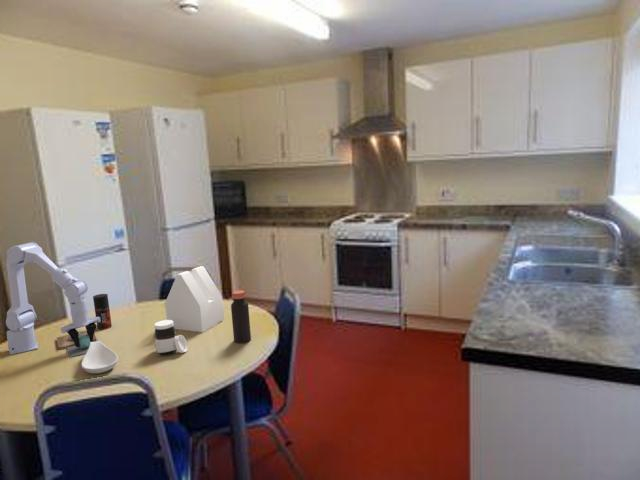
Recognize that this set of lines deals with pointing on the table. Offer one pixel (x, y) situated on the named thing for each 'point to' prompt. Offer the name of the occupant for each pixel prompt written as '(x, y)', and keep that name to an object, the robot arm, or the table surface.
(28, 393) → the table surface
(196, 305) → the white peaked block
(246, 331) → the bottle
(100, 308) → the deodorant
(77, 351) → the mat
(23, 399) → the table surface
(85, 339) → the teal ovoid with tab
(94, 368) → the spoon rest
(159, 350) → the spread jar
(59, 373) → the table surface
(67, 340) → the post board
